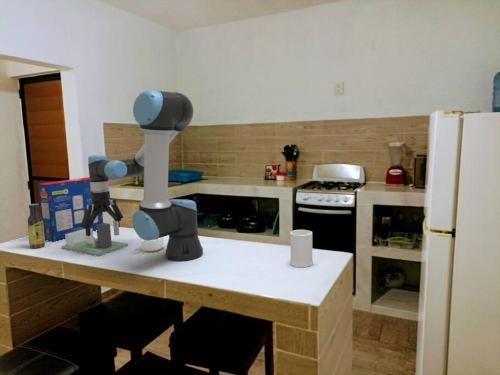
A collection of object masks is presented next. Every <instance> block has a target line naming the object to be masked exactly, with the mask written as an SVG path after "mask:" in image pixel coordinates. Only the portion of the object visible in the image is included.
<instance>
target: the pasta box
mask: <svg viewBox="0 0 500 375" xmlns="http://www.w3.org/2000/svg"><path fill="white" fill-rule="evenodd" d="M37 185H38V195H39V206H40V215H41V218H42V220H43V225H44V236H45V241H46V240H48V241H47V242H50V241H52V242H51V243H57V242H60V241H59V240H61V241H63V239H64V240H66V238H65V234H68V233H72V232H76V231H80V230H83V229H85V228H81V223H82V220H83V217H84V214H85V210H86V205H87V204H88V205H92V203H93V202H92V200H91V192H92V191H91V188H90V177H89V176H88V177H81V178H80V177H79V178H74V179H64V180H57V181H48V182H41V183H38V184H37ZM92 211H93V209H92ZM103 213H104V212H102V213H99V214H98V215H97V217H96V219H95V220H94V222H93V224H92V226H91V228H92V229H93V231H94V232H97V231H96V230H97V229H96V225H98V224H102V223H104V214H103ZM91 214H92V212H91ZM90 216H91V215H90ZM56 241H57V242H56Z"/></svg>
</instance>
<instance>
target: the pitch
mask: <svg viewBox="0 0 500 375" xmlns="http://www.w3.org/2000/svg"><path fill="white" fill-rule="evenodd" d="M87 237H88V236H86V230H85V229H83V230H80V231H76V232H72V233H68V234H65V238H66V239H65V245H61V247H60V249H61V248H62V249H61V250H65V249H67V250H66V251H70V250H72V251H71V252H75V251H77V252H76V253H79V252H82V253H81V254H84V253H86V254H85V255H89V254H90V255H89V256H94V255H96V256H95V257H100V256H99V255H101V256H103V255H102V254H104V255H106V254H105V253H107V254H109V253H112V252H115V251H117V250H120V249H123V248H127V247H129V243H125V242H119V241H114V240H111V242H112V246H110V247H107V248H100V247H92V245H89V244H87V243H86V238H87ZM96 239H97V238H96V237H95V240H96ZM111 251H112V252H111ZM108 252H109V253H108Z"/></svg>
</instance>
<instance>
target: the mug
mask: <svg viewBox="0 0 500 375" xmlns="http://www.w3.org/2000/svg"><path fill="white" fill-rule="evenodd" d="M289 236H290V237H289V239H290V244H289V245H290V260H289V261H290V262H289V264H290V265H291V266H292V267H296V268H309V267H312V266H313V265H314V260H313V231H311V230H307V229H295V230H291V231H290V232H289Z"/></svg>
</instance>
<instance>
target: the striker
mask: <svg viewBox="0 0 500 375" xmlns="http://www.w3.org/2000/svg"><path fill="white" fill-rule="evenodd" d="M96 229H97V231H96V236H97V239H96V240H94V243H92V247H100V248H107V247H110V246H112V242H111V241H112V233H111V232H112V230H111V223H107V222H103V223H102V224H98V225H96Z"/></svg>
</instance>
